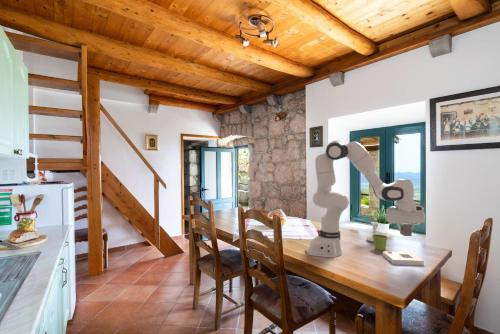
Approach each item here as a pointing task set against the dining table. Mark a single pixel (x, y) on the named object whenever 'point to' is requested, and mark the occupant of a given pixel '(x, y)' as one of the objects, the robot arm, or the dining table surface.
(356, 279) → the dining table surface
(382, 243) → the plant pot
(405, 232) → the plug
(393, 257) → the socket plate
